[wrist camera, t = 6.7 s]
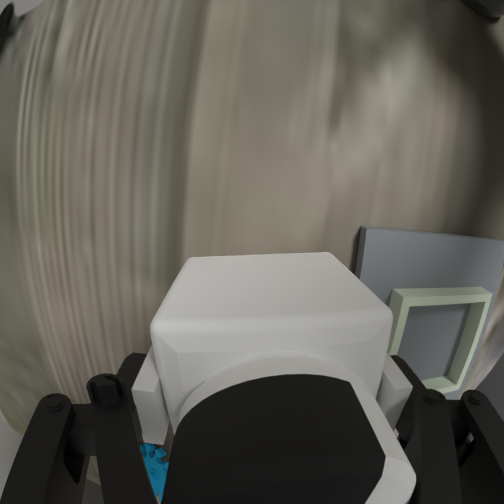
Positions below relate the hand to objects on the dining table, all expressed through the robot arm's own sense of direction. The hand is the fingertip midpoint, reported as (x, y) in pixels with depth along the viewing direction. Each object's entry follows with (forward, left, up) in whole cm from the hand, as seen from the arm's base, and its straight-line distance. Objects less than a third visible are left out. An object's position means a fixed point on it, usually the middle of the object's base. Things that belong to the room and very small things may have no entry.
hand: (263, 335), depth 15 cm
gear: (+31, -12, -15) cm, 36 cm away
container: (0, 0, -2) cm, 2 cm away
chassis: (+9, +22, -15) cm, 28 cm away
